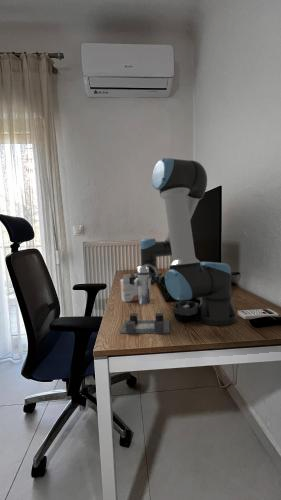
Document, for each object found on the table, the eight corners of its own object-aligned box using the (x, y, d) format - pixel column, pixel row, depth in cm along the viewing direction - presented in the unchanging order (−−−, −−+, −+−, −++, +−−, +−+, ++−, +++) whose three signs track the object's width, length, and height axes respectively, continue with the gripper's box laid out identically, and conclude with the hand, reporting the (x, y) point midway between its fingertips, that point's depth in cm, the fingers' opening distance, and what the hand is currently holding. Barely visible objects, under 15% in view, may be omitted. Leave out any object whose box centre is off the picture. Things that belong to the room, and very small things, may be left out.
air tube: (150, 300, 95) (149, 265, 94) (150, 304, 90) (148, 267, 89) (139, 301, 95) (137, 265, 94) (138, 304, 91) (136, 267, 90)
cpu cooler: (202, 306, 95) (177, 310, 94) (203, 320, 96) (179, 325, 95) (193, 299, 106) (170, 303, 104) (194, 311, 106) (172, 316, 105)
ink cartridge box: (135, 297, 136) (134, 272, 135) (139, 300, 132) (137, 273, 131) (121, 300, 133) (119, 273, 132) (124, 302, 129) (122, 275, 127)
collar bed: (169, 321, 98) (168, 312, 98) (169, 333, 86) (169, 324, 86) (125, 321, 100) (125, 313, 100) (119, 333, 88) (119, 324, 88)
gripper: (167, 281, 109) (167, 295, 86) (129, 282, 111) (118, 295, 88) (166, 264, 109) (166, 274, 86) (128, 266, 111) (117, 275, 88)
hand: (142, 285), depth 87 cm, fingers closed on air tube, 4 cm apart
